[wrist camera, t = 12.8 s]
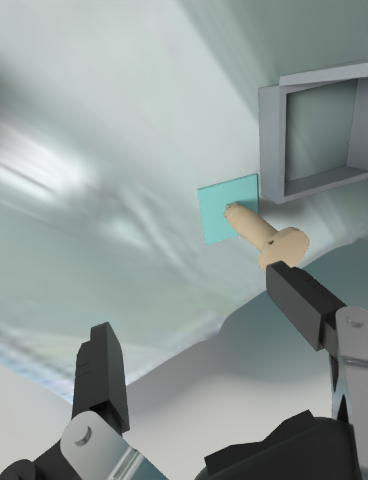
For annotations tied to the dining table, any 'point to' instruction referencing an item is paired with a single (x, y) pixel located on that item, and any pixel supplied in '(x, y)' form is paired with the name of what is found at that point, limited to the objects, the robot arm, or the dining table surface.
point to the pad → (218, 198)
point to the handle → (267, 236)
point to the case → (274, 126)
